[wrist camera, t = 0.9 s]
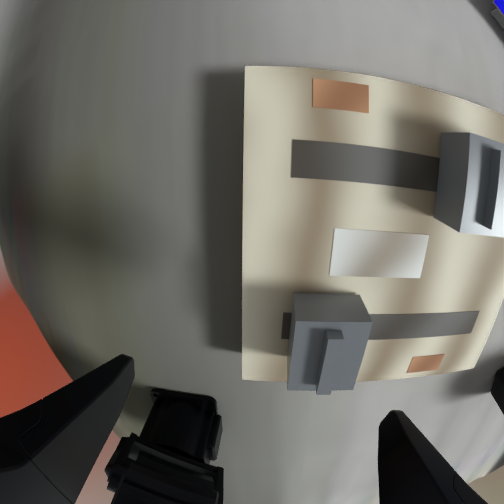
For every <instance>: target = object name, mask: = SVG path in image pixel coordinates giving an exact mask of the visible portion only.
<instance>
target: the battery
mask: <svg viewBox="0 0 504 504" xmlns="http://www.w3.org/2000/svg"><path fill="white" fill-rule="evenodd" d="M491 394H492V396H493V397H494V399H495V401H496V402H497V404H498V406H499V407H500V409H501V411H502V413H503V414H504V368H502V369H500V370H499V371H497V373H496V377H495V381H494V384H493V388H492V391H491Z"/></svg>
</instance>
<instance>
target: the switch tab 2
mask: <svg viewBox="0 0 504 504" xmlns="http://www.w3.org/2000/svg"><path fill="white" fill-rule="evenodd" d="M433 218H435V219H437V220H438V221H440V222H442V223H444V224H445V225H447V226H449V227H451V228H452V229H454V230H456V231H457V232H459V233H468V234H477V235H486V236H495V237H503V238H504V144H503V143H500V142H497V141H495V140H492V139H489V138H486V137H483V136H480V135H477V134H473V133H470V132H441V145H440V162H439V174H438V184H437V193H436V201H435V209H434V216H433Z"/></svg>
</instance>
